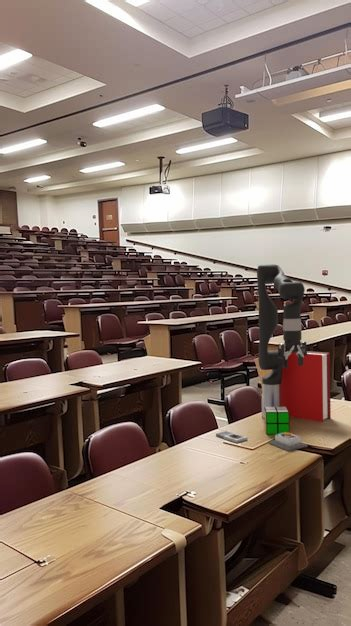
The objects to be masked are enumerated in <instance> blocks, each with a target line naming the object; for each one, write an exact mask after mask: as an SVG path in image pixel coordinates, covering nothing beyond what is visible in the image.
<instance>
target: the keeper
mask: <svg viewBox="0 0 351 626" xmlns="http://www.w3.org/2000/svg"><path fill="white" fill-rule="evenodd" d="M291 434H292V433H291V432H290V431H289V432H285V437H286V438H291ZM268 444H269V445H271V444H272V446H273V447H276V446H277V447H276V448H279V449H281V448H282V450H283V451H286V450H287V451H286V452H291V451H290V450H292V451H296V450H299V449H304V448H308V444H306V443H303V442H301V444H300V445H296V446H291V447H287V446H285V445H282V444H279V443H277V442H275V439H273V440H269V441H268Z"/></svg>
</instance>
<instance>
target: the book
mask: <svg viewBox="0 0 351 626" xmlns="http://www.w3.org/2000/svg"><path fill="white" fill-rule="evenodd" d="M275 350H277V351H278V349H275ZM275 350H273V351H275ZM285 356H286V355H285ZM287 360H288V368H283V366H282V380H281V389H282V407H286V408H287V410H288V412H289V417H291V418H298V419H304V420H307V421H314V422H320V423H324V420H326V419H332V418H331V414H332V413H331V353H330V352H321V351H311V350H310V351H308V350H307V355H305V356H304V357H303V366H298V355H297V354H296V353H291V354H290V355H289V356H288V358H287Z"/></svg>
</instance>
